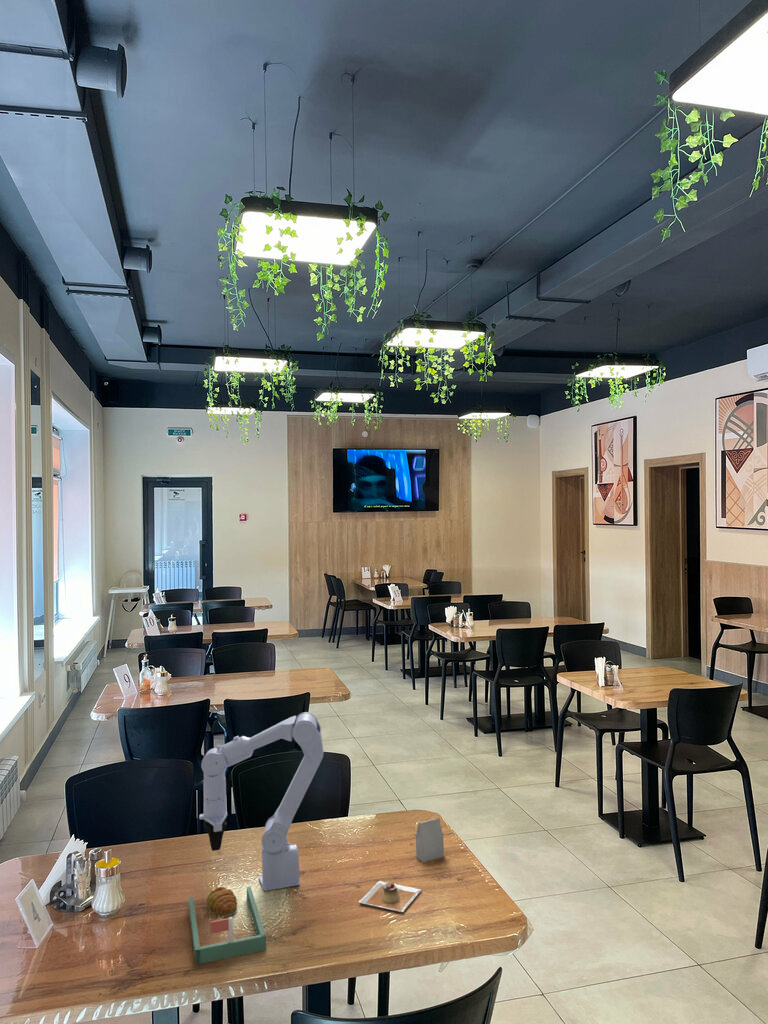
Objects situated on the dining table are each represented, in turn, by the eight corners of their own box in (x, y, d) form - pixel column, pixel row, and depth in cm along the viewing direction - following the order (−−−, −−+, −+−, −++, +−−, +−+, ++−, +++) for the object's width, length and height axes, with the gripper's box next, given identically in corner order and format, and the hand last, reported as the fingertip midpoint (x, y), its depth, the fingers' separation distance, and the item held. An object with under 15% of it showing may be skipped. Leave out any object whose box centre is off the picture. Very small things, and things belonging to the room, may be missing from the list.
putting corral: (250, 898, 179) (250, 866, 180) (266, 950, 157) (265, 912, 157) (188, 910, 175) (188, 876, 175) (195, 964, 152) (194, 926, 152)
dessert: (421, 893, 181) (421, 874, 181) (403, 916, 170) (402, 896, 170) (379, 885, 186) (378, 866, 186) (358, 906, 175) (357, 886, 175)
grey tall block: (443, 856, 200) (442, 820, 200) (423, 862, 197) (422, 825, 197) (436, 851, 203) (435, 816, 204) (416, 857, 200) (415, 821, 200)
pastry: (244, 913, 173) (243, 897, 173) (217, 922, 169) (216, 906, 169) (229, 897, 181) (229, 882, 181) (203, 906, 177) (203, 890, 177)
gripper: (197, 789, 193) (198, 840, 192) (201, 808, 179) (202, 863, 179) (223, 786, 195) (224, 836, 195) (229, 804, 181) (230, 858, 181)
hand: (215, 849), depth 187 cm, fingers closed
